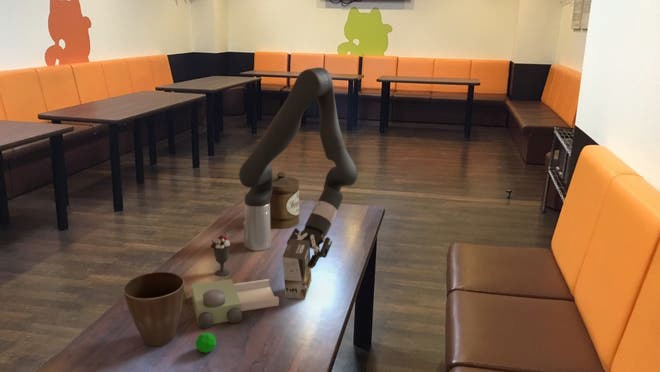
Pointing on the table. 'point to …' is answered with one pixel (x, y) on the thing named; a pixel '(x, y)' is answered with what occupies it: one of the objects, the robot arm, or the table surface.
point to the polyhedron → (205, 342)
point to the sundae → (221, 253)
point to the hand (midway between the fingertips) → (299, 263)
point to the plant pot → (155, 305)
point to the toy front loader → (229, 300)
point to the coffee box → (297, 269)
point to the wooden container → (284, 202)
